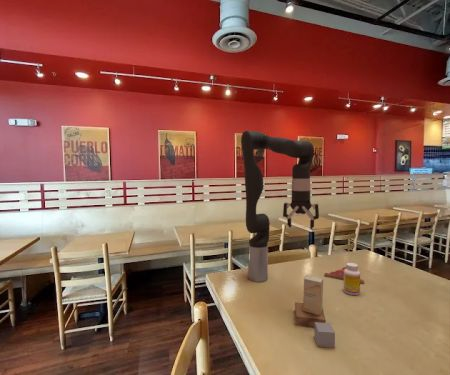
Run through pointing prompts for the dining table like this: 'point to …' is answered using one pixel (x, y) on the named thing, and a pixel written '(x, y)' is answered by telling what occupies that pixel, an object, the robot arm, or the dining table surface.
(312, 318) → the walnut block
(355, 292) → the supplement bottle
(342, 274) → the pepperoni pizza slice
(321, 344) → the grey cube
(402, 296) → the dining table surface
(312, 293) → the skincare box
